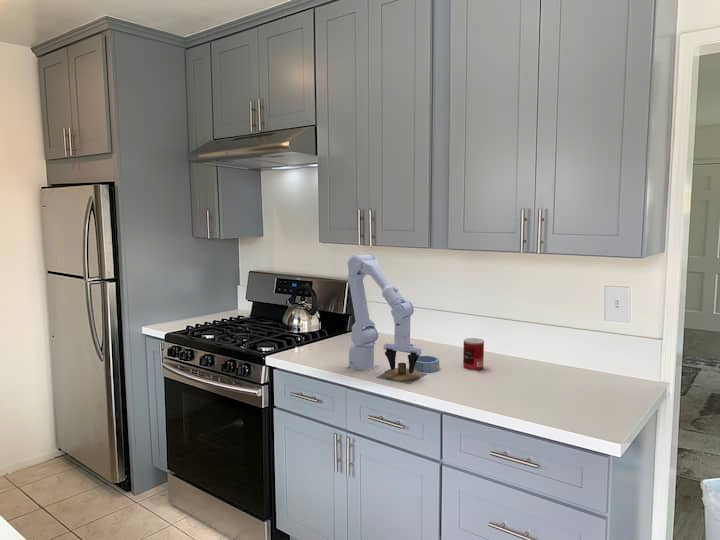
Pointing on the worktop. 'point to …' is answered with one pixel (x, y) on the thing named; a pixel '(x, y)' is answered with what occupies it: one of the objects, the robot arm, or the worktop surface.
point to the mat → (402, 381)
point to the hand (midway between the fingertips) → (402, 371)
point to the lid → (401, 373)
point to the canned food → (473, 353)
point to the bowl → (427, 364)
